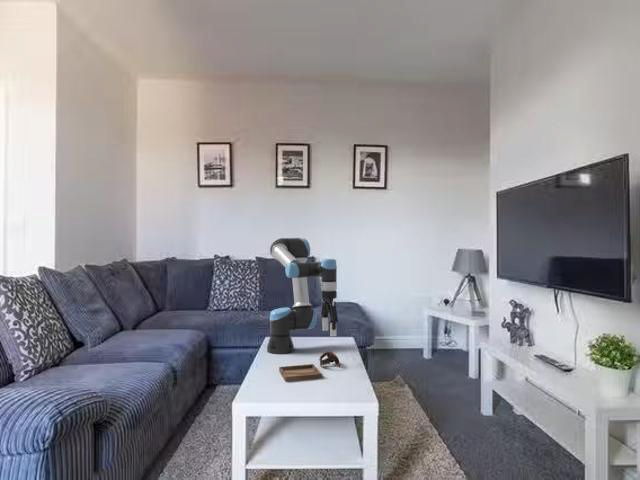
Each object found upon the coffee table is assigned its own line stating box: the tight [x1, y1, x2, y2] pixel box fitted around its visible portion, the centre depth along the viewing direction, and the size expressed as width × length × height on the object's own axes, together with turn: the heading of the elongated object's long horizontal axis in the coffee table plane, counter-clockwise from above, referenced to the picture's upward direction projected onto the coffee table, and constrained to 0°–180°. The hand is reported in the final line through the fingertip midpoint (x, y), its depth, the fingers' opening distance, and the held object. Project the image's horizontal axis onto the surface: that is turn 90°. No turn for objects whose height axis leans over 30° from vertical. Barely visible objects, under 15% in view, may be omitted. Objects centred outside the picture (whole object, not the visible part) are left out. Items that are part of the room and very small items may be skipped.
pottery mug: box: [319, 350, 341, 368], centre depth 205 cm, size 12×10×8 cm
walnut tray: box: [278, 363, 323, 383], centre depth 192 cm, size 16×17×2 cm
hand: (329, 333), depth 205 cm, fingers open, 13 cm apart
